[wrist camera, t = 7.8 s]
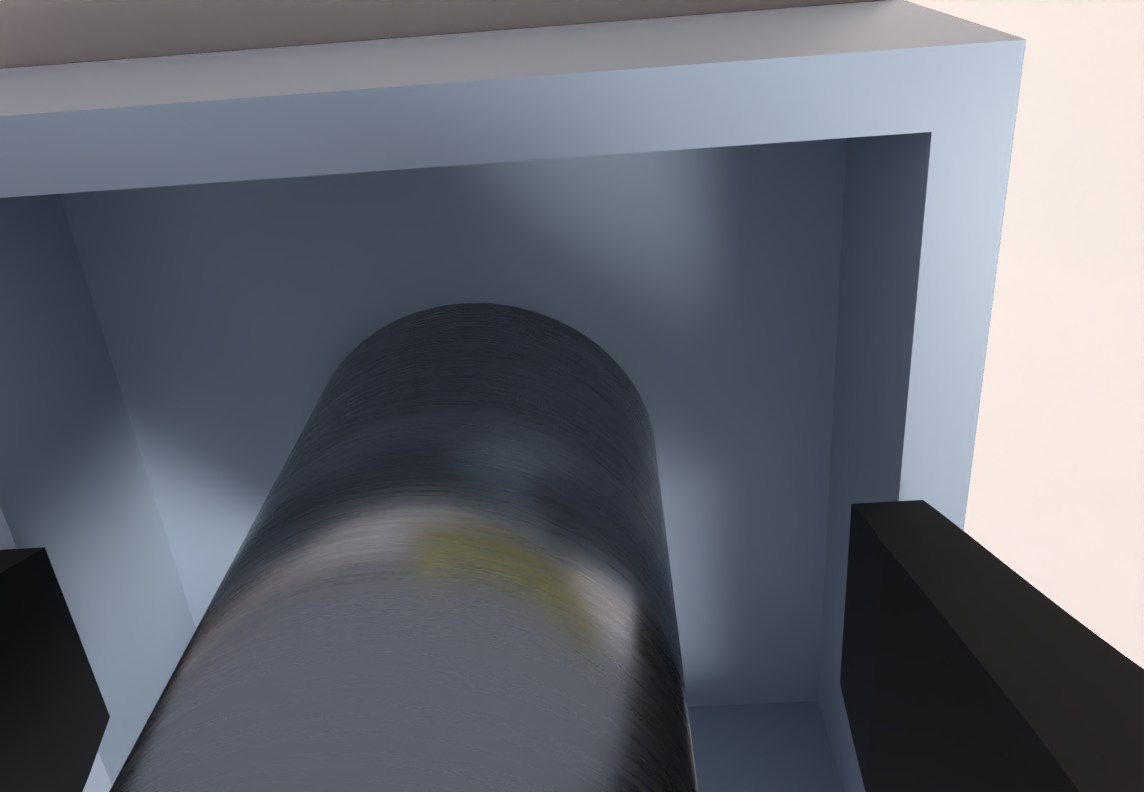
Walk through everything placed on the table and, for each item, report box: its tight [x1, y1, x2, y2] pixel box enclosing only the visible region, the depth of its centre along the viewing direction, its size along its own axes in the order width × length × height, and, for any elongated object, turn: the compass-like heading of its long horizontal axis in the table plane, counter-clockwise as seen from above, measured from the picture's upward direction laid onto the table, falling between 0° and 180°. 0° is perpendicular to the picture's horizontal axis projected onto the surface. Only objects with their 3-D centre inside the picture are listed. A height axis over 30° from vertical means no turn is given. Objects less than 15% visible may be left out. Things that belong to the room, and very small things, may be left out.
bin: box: [0, 0, 1026, 792], centre depth 11 cm, size 9×9×3 cm
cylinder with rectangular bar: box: [109, 303, 698, 792], centre depth 8 cm, size 4×4×7 cm
